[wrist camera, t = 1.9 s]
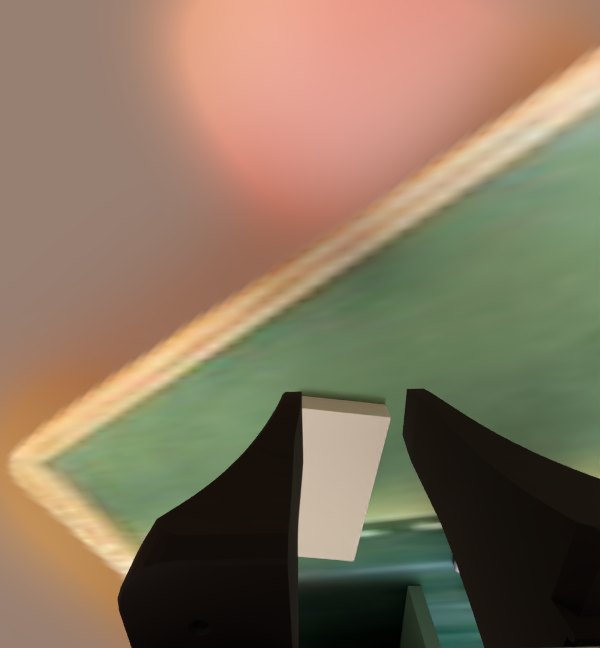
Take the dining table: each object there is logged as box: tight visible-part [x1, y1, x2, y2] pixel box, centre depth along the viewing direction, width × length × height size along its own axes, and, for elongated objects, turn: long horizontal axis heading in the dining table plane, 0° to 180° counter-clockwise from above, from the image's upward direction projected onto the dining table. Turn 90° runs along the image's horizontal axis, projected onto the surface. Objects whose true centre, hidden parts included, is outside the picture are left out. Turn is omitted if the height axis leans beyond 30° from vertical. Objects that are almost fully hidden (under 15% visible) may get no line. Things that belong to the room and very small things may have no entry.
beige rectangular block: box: [298, 396, 391, 561], centre depth 24 cm, size 6×14×2 cm, turn 173°
